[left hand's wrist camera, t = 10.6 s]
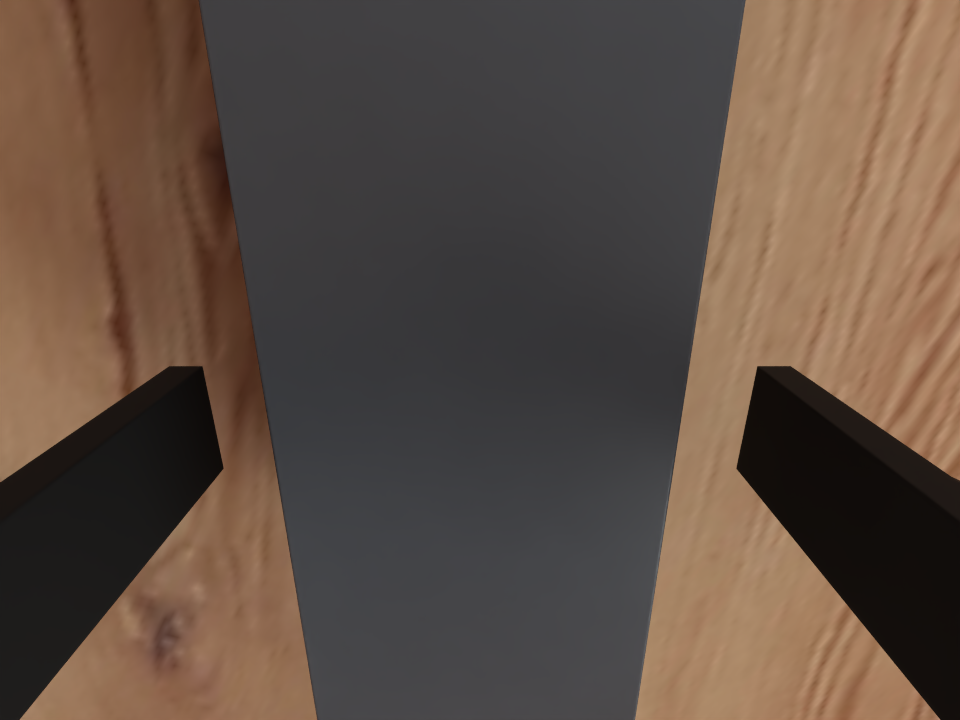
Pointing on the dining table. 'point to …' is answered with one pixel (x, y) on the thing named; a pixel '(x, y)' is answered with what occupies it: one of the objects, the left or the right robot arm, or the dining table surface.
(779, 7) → the dining table surface
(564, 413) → the beam
